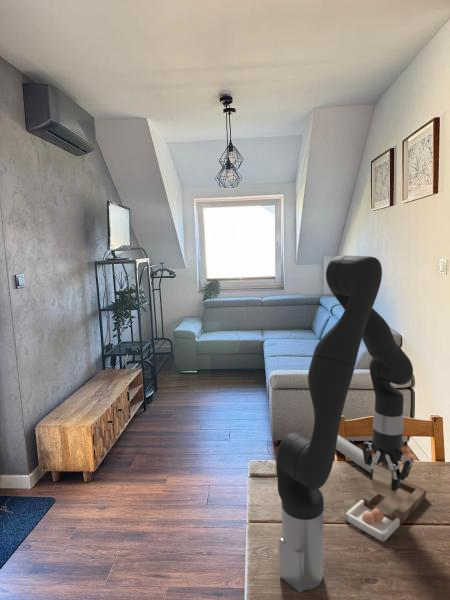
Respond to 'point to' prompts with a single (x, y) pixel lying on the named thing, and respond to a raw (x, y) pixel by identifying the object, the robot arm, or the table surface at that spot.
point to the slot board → (397, 501)
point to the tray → (378, 528)
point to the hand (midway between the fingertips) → (384, 485)
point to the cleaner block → (382, 480)
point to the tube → (352, 452)
